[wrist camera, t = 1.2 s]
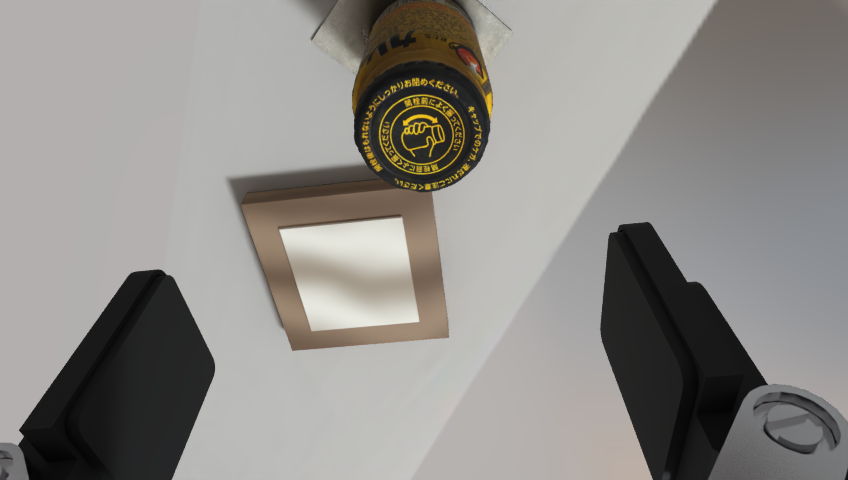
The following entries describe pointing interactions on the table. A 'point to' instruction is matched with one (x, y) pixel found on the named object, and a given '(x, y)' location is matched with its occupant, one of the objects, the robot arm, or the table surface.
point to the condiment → (417, 84)
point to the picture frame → (350, 263)
